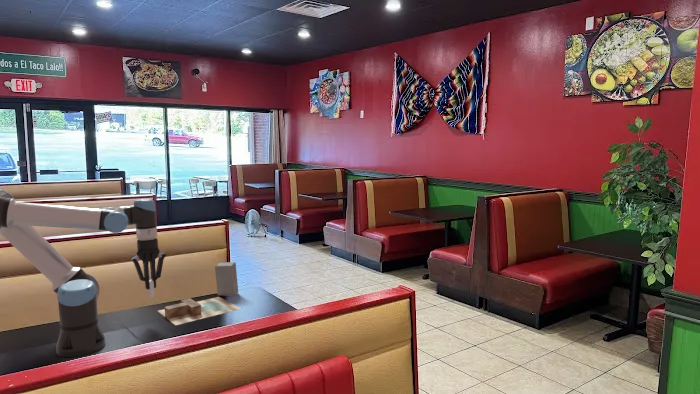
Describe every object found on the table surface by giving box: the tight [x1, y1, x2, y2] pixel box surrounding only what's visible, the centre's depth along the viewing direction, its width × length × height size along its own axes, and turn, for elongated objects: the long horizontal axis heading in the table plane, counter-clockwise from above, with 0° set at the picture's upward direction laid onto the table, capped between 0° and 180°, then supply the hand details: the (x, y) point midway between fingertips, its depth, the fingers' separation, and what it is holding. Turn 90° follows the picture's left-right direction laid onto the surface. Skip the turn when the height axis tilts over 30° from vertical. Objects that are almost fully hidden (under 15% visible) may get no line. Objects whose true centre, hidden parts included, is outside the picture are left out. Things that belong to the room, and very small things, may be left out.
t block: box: [164, 297, 201, 320], centre depth 197 cm, size 12×12×4 cm
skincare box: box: [214, 261, 239, 297], centre depth 224 cm, size 8×7×16 cm
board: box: [157, 296, 242, 326], centre depth 203 cm, size 28×22×1 cm
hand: (151, 296), depth 189 cm, fingers closed
